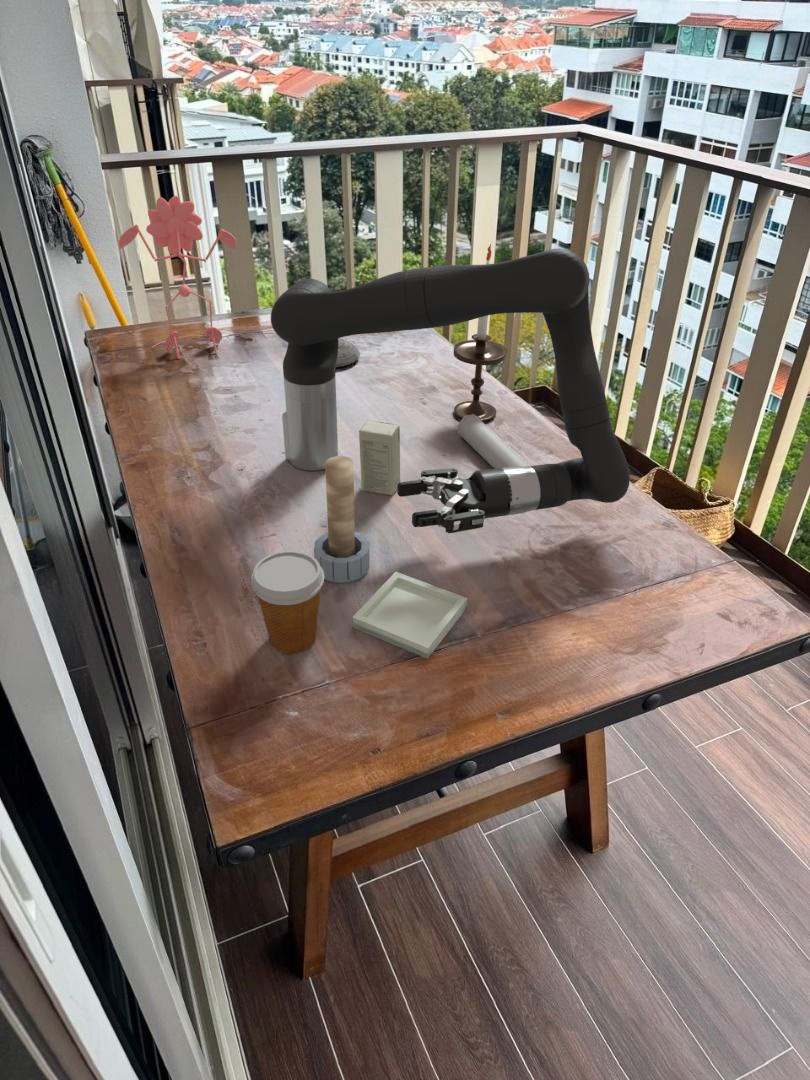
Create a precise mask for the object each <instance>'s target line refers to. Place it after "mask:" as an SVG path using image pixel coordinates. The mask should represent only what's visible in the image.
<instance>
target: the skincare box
mask: <svg viewBox="0 0 810 1080" xmlns="http://www.w3.org/2000/svg"><path fill="white" fill-rule="evenodd" d="M400 431H401V426H400V424H394V423H389V422H382V421H376V420H375V421H374V420H370V419H369V420H367V421H365V423H364V424H363V425H362V426H361V427H360V428H359V429H358V435H359V436H358V438H359V439H358V441H359V457H360V458H359V461H360V478H361V479H360V483H361V490H362V491H366V492H370V493H376V494H382V495H387V496H394V495H395V493H396V491H397V485H398V483H401V432H400Z"/></svg>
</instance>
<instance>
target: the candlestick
mask: <svg viewBox="0 0 810 1080" xmlns="http://www.w3.org/2000/svg"><path fill="white" fill-rule="evenodd" d="M491 247H492V243H490V244H489V246H488V247H487V251H488V252H487V254H486V263H485V265H486V264H490V260H491V257H492V249H491ZM488 318H489V315H488V316H484V317H480V318H477V330H476V331H477V332H476V333H475V334H473V335H471V338H472V339H471V340H470V339H469V340H463V341H461V342H458V343H456V344H455V345H454V346H453V351H452V353H453V357H454V358H455V359H456V360H458V361H460V362H462V363H465V364H470V365H475V372H474V377H473V378H472V379H471V380H470V383H471V385H472V386H473V389H471V390H470V394H471V395H472V400H466V401H462V402H460V403H459V402H458V404H456V405H455V406H454V407H453V415H454V417H455V418H456V419H457V420H458V421H461V420H462V419H463V417H464V416H467V415H472V414H474V415H476V416H477V417H479V418H481V419H482V422H483V423H484V424H487V423H490V422H492V421H494V420H495V419H496V417H497V409H496V408H495V406H493V405H492V404H490V403H487V402H485V401H484V402H483V401H480V397H481V396H482V395H483V390H482V387H483V386H484V384H485V379H483V378H482V375H483V373H482V372H483V366H493V365H497V364H501V363H502V362H504V361H505V360H506V359H507V355H508V349H507V348H506V347H505V346H504V345H502V344H500V343H497V342H495V341H490V340H492V337H491V336H490V335H488V333H487V330H488V322H489V321H488V320H489V319H488Z"/></svg>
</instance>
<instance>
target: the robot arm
mask: <svg viewBox="0 0 810 1080" xmlns="http://www.w3.org/2000/svg"><path fill="white" fill-rule="evenodd" d="M589 287H590V272H589V268H588V266H587V265H586V263H585V261H584V260H583V259H582V257H580V256H579V255H578V254H577V253H575V252H573V251H571V250H568V249H564V248H551V249H547V250H543V251H540V252H537V253H533V254H530V255H529V254H528V255H526V256H522V257H518V258H514V259H510V260H505V261H500V262H495V263H494V262H493V263H489V264H486V263H485V264H452V265H451V264H448V265H436V266H428V267H427V266H426V267H420V268H419V267H418V268H414V269H406V270H401V271H396V272H393V273H391V274H388V275H385V276H381V277H379V278H376V279H372V280H371V281H368V282H366V283H362V284H360V285H358V286H354V287H351V288H348V289H344V290H343V289H342V290H334V291H332V290H331V289H330V287H329V286H328V285H327V284H325V283H324V282H322V281H321V280H319V279H314V278H305V279H302V280H299V281H297V282H295V283H294V284H293V285H291V286H290V287H289V288H288V289H286V291H284V292H283V293H282V294H281V295H280V296H279V297H278V298H277V300H276V301H275V303H274V304H273V307H272V309H271V312H270V323H271V327H272V330H273V331H274V332H275V334H276V335H277V336H278V337H279V338H280V339H282V340H283V341H285V342H287V348H286V352H285V355H284V358H283V360H282V372H283V386H284V387H283V388H284V398H285V411H284V412H283V413H282V416H281V417H282V418H281V419H282V430H283V441H284V443H283V445H284V455H285V460H287V461H289V462H290V463H291V465H293V467H295V468H296V469H300V470H303V471H309V472H310V471H311V472H312V471H315V472H317V471H323V470H325V462H326V460H327V459H329V458H331V457H335V456H339V446H338V445H339V444H338V442H339V441H338V436H339V435H338V411H337V410H338V409H337V387H336V385H337V383H336V379H337V378H336V367H335V366H336V361H337V357H338V338H341V339H342V338H344V337H348V336H356V335H367V334H368V335H369V334H380V333H381V334H382V333H383V334H384V333H393V332H401V331H415V330H416V331H417V330H424V329H425V330H426V329H433V328H440V327H441V328H442V327H445V326H452V325H457V324H461V323H462V324H463V323H464V322H465V323H466V322H469V321H472V320H473V321H474V320H476V319H478V318H480V317H484V316H488V317H489V316H493V315H500V314H518V313H519V314H520V313H525V314H526V313H529V314H531V313H534V314H535V313H536V314H540V313H541V314H542V316H543V318H544V320H545V323H546V327H547V329H548V333H549V336H550V339H551V344H552V347H553V354H554V360H555V361H554V362H555V369H556V380H557V389H558V398H559V402H560V409H561V414H562V417H563V423H564V426H565V431H566V435H567V438H568V439H567V440H569V443H570V444H572V446H574V447H575V448H576V449H578V451H579V452H580V455H581V457H578V458H572V459H569V460H565V461H560V462H556V463H545V464H544V463H543V464H536V465H530V466H513V467H505V468H497V469H494V468H490V469H482V470H475V471H473V472H472V474H471V476H470V477H468V478H461V477H459V476H458V468H455V467H447V468H438V469H428V470H426V469H425V470H421V472H420V478H419V479H417V480H408V481H400V483H398V485H397V490H396V491H397V496H398V497H399V498H402V497H410V496H417V495H421V494H423V495H428V496H431V497H432V498H433V499H434V500H437V501H440V502H441V504H443V507H441V508H440V509H439V510H438V511H437V509H431V510H423V511H416V512H415V511H414V512H413V513H412V514H411V525H412V526H413V528H425V527H433V526H438V527H440V528H444V529H445V533H447V534H454V533H455V534H456V533H460V532H466V531H471V530H476V529H482V528H483V527H484V522H485V519H491V518H498V517H499V518H500V517H505V516H507V517H508V516H513V515H520V514H525V513H528V512H531V511H539V510H543V509H545V510H547V509H550V508H551V509H552V508H556V507H561V506H563V505H565V504H566V503H567V502H571V501H577V500H591V501H595V502H596V501H597V502H600V503H604V504H605V503H606V504H608V503H609V504H610V503H611V504H612V503H615V502H618V501H620V500H621V499H622V498H623V497H624V496H625V495H626V493H627V492H628V489H629V487H630V479H631V475H630V468H629V464H628V462H627V459H626V455H625V452H624V451H623V448H622V447H621V444H620V442H619V440H618V438H617V436H616V434H615V432H614V429H613V427H612V421H611V416H610V411H609V407H608V406H609V405H608V402H607V400H608V399H607V397H606V393H605V387H604V383H603V380H602V376H601V372H600V367H599V364H598V359H597V355H596V350H595V347H594V341H593V334H592V328H591V318H590V299H589V297H590V296H589V291H590V290H589ZM432 477H435V478H432ZM432 487H433V488H432ZM456 522H459V524H455V523H456Z"/></svg>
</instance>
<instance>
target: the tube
mask: <svg viewBox="0 0 810 1080" xmlns="http://www.w3.org/2000/svg"><path fill="white" fill-rule="evenodd" d="M457 435H458V436H459V437H462V439H464V440H465V441H466V442H467V443H468V445H470V446H471V448H473V449H474V450H475V452H477V453H478V454H479V455H480V456H481V457H482V458H483V459H484V460H485V461H486V462H487V463H488V464H489V465H490V466H491V467H492V469H497V468H505V467H513V466H531V464H529V463H528V462H527V461H526V460H525V459H523V457H522V456H521V455H519V454H518V453H517V452H516V451H515V450H514V449H513V448H512V447H510V446H509V444H507V442H505V441H504V440H503V439H501V437H499V436H498V435H497V434H496V433H495V432H494V431H493V430H492V429H491V428H490V427H488V425H487V424H486V423H483V422H482V419H481V418H479V417H477V416H476V415H474V414H472V415H467V416H464V417H463V419H462V420H459V423H458V425H457Z"/></svg>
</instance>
